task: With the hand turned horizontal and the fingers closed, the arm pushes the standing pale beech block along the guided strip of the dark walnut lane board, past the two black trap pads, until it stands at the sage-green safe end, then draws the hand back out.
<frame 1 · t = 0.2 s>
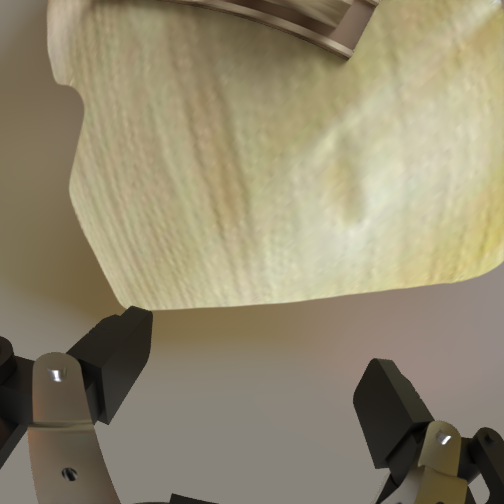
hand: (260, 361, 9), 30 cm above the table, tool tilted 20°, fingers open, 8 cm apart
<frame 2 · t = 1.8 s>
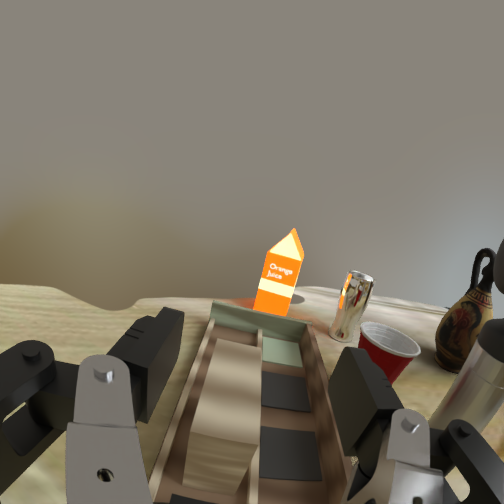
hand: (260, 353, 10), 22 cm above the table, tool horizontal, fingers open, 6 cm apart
ceramic jug: (447, 362, 54), on the table
beer glass: (339, 336, 61), on the table
trap pads: (252, 413, 33), resting on lane board
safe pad: (281, 351, 48), in the lane board, point 1 cm above the table
orange juice: (271, 310, 68), on the table
beech block: (216, 443, 26), point 1 cm above the table, touching lane board
lane board: (252, 413, 33), on the table
plastic cup: (361, 395, 40), on the table
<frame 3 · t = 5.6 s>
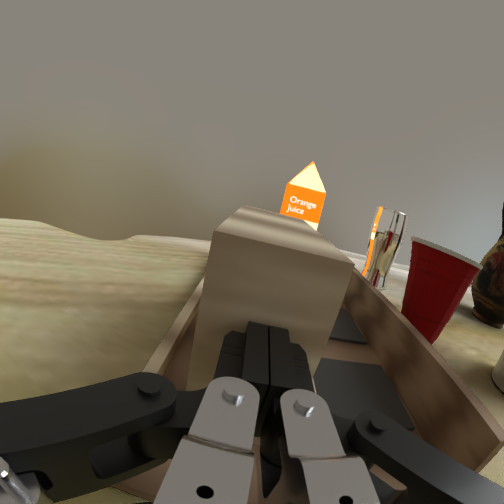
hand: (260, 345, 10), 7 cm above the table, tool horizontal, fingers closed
ceramic jug: (485, 319, 45), on the table
beer glass: (370, 285, 52), on the table
trap pads: (288, 344, 24), resting on lane board
orange juice: (290, 258, 59), on the table
beech block: (240, 364, 19), point 1 cm above the table, touching gripper, lane board
lane board: (288, 344, 24), on the table
plastic cup: (415, 336, 31), on the table
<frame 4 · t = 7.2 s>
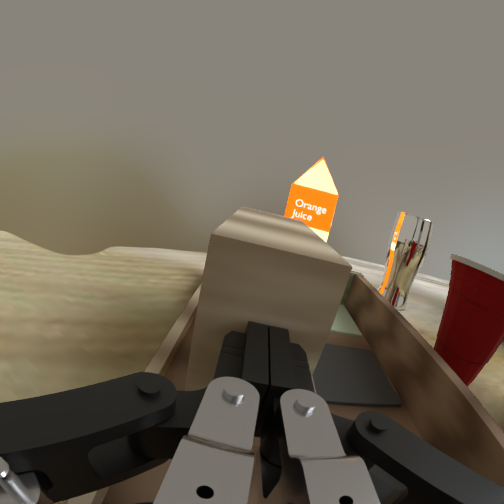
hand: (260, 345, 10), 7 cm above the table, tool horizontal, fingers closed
beer glass: (388, 303, 43), on the table
trap pads: (297, 419, 15), resting on lane board
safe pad: (324, 314, 31), in the lane board, point 1 cm above the table
orange juice: (294, 271, 50), on the table
beech block: (239, 365, 19), point 1 cm above the table, touching gripper
lane board: (297, 419, 15), on the table
plastic cup: (449, 375, 22), on the table
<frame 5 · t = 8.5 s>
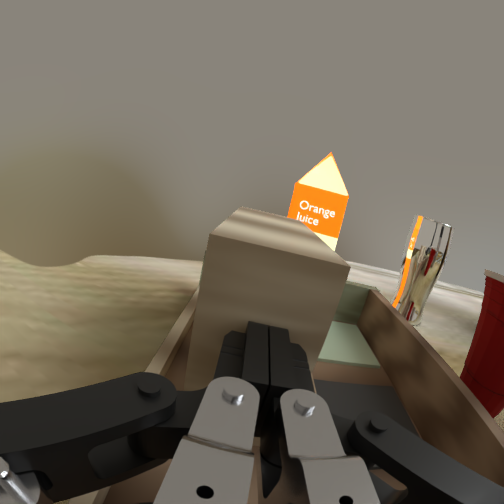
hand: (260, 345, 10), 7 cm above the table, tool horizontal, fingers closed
beer glass: (402, 317, 38), on the table
trap pads: (305, 493, 10), resting on lane board
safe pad: (334, 339, 25), in the lane board, point 1 cm above the table
orange juice: (298, 281, 45), on the table
beech block: (238, 365, 19), point 1 cm above the table, touching gripper, lane board
lane board: (305, 493, 10), on the table
plastic cup: (473, 405, 17), on the table
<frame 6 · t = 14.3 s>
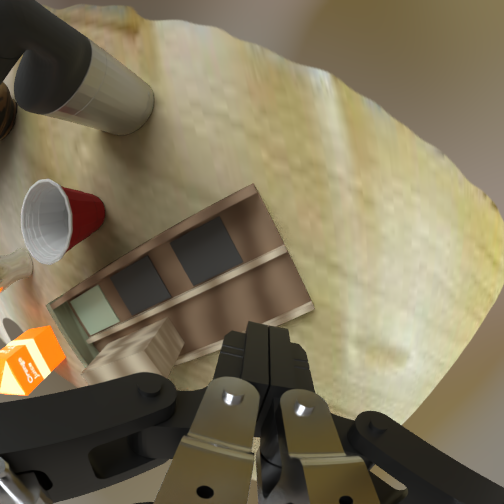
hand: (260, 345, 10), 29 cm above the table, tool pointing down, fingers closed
ceramic jug: (3, 120, 35), on the table
beer glass: (24, 262, 42), on the table
trap pads: (181, 296, 41), resting on lane board
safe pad: (93, 311, 42), in the lane board, point 1 cm above the table
orange juice: (46, 342, 46), on the table
beech block: (143, 343, 43), point 1 cm above the table, touching lane board
lane board: (181, 296, 41), on the table
plastic cup: (90, 211, 39), on the table
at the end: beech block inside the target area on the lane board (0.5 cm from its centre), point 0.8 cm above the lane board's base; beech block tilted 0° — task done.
